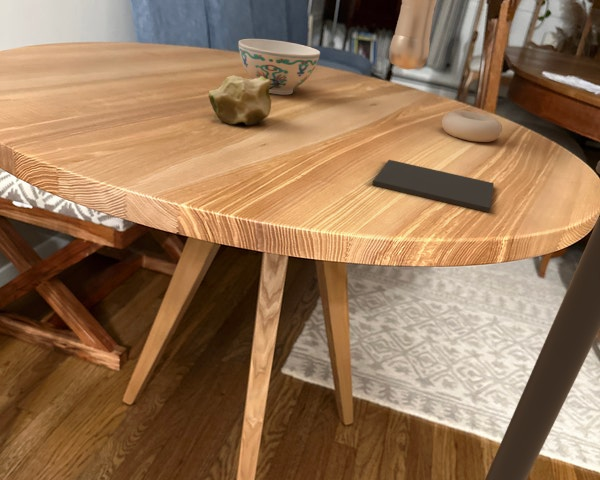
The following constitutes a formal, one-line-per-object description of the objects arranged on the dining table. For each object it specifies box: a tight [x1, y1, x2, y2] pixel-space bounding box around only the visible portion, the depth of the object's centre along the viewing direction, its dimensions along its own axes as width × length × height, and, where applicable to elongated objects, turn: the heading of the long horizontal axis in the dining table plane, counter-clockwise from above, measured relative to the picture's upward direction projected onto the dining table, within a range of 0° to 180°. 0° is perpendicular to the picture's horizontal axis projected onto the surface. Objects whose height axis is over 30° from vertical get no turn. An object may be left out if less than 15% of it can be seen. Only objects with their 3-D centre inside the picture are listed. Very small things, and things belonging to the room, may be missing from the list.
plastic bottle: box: [388, 0, 438, 70], centre depth 88 cm, size 6×7×20 cm
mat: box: [371, 159, 495, 213], centre depth 71 cm, size 14×10×1 cm
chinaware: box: [237, 38, 321, 96], centre depth 105 cm, size 15×15×8 cm
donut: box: [441, 109, 503, 143], centre depth 95 cm, size 10×4×10 cm
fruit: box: [208, 74, 279, 126], centre depth 84 cm, size 9×9×8 cm
